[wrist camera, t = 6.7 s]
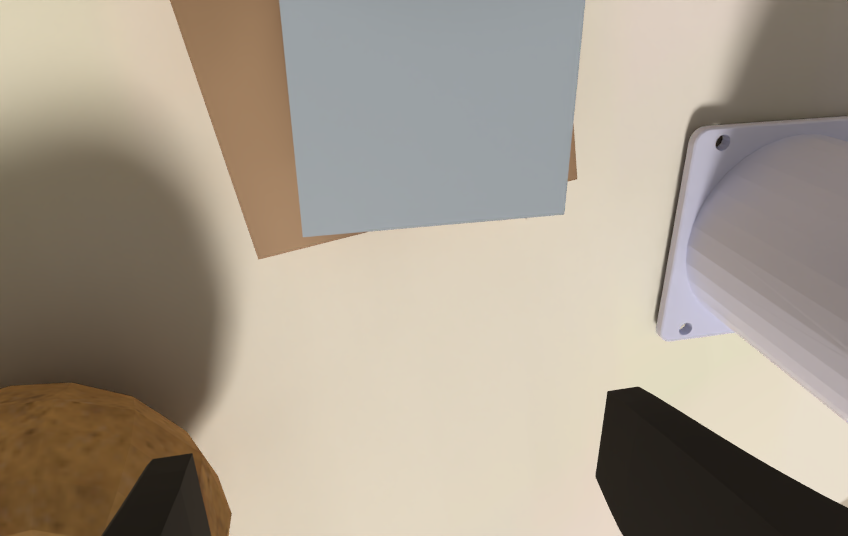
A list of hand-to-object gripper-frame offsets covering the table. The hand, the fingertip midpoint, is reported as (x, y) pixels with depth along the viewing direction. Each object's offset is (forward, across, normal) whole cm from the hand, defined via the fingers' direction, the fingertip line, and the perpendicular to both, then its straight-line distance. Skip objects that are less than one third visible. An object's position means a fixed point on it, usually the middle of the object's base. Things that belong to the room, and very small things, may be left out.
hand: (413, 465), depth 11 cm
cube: (+7, -1, -6) cm, 10 cm away
